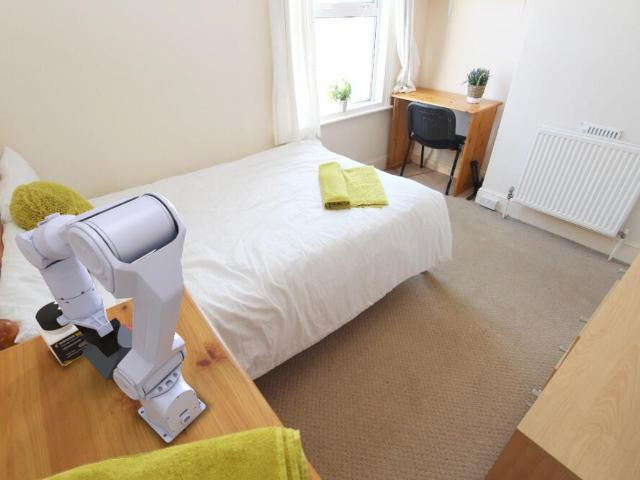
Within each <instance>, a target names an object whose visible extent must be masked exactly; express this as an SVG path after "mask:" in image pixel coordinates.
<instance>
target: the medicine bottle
mask: <svg viewBox="0 0 640 480" xmlns="http://www.w3.org/2000/svg"><path fill="white" fill-rule="evenodd" d="M60 310H61V309H60V307H59V305H58V303H57V302H56V300H53V301H51V302H49V303H46V304H45V305H43V306H42V307H41V308H39V309H38V311H37V312H36V313H35V320H36V322H37V323H38V325H39V326H38V327H37V328H36V331H37V332H38V333H39V335H40V337H41V338H42V340H43V341H44V343H45V344H46V346H47V347H48V349H49V350H50V352H51V353H52V354H53V356H54V357H55V358H56V360H57V361H58V362H59V364H61V366H62V367H67V366H68V365H70V364H72V363H73V362H75V361H77V360H78V359H80V358H82V357H83V356H84V355H83V352H84V350H85V348H86V346H87V344H88V342H86V341H85V340H84V339H83V338H82V337H81V335H83V334H82V333H81V332H80V331H79V330H78V329H77V327H76V326H75V325H74V324H72V323H68V324H66V325H64V326H61V325H60V324H59V323H58V321H57V318H58V317H60V315H59V314H58V312H59V311H60Z"/></svg>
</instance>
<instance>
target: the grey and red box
mask: <svg viewBox="0 0 640 480" xmlns="http://www.w3.org/2000/svg"><path fill="white" fill-rule="evenodd" d="M131 349H132V327H131V326H130V325H129V324H121V326H120V328H119V331H118V351H117V352H115V353H114V354H112V355H111V356H109V357H106V356H105V355H104V354H103V353H102V352H101V351H100V350H99V349H98V348H97V347H96V346H95V345H92V344H89V343H88V344H87V346H86V348H85V350H84V352H83V356H84V358H86V360H87V361H88V362H89V363H90V364H91V365H92V367H94V369H96V371H97V372H98V373H99V374H100V375H101V376H102V378H103V379H104V380H105V381H115V380H114V378H113V374H114V370H115V369H116V368H117V366H118V364H119V363H120V362H121V361H122V359H123V358H124V357H125V356H126V355H127V354H128V353H129V351H130V350H131Z"/></svg>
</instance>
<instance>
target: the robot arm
mask: <svg viewBox="0 0 640 480" xmlns="http://www.w3.org/2000/svg"><path fill="white" fill-rule="evenodd" d="M186 234H187V228H186V227H185V224H184V221H183V220H182V218H181V217H180V215H179V213H178V211H177V209H176V207H175V206H174V205H173V204H172V202H170V200H168V198H166V197H165V196H163V195H162V194H159V193H158V192H155V191H147V192H145V193H143V194H142V195H141V196H140V195H132V196H128V197H124V198H121V199H118V200H115V201H111V202H108V203H104V204H102V205H99V206H97V207H94V208H91V209H89V210H87V211H85V212H82V213H79V214H77V215H74V214H62V215H61V214H60V212H54V213H52V214H49V215H47V216H45V217H44V220H42V221H38V223H36V227H35V228H33V229H30V230H27V231H25V232H23V233H17V234H16V235H15V237H14V241H15V244H16V245H17V247H18V250H19V251H20V253H21V254H22V256H23V257H24V258H25V259H26V261H27V262H29V263H30V264H31V265H32V266H33V267H34V268H36V269H37V270H38V272H39V274H40V275H41V277H42V279H43V281H44V282H45V284H46V286H47V288H48V289H49V291H50V293H51V295H52V297H53V298H54V301H56V302H57V303H58V305H59V307H60V309H61V310H60V311H59V312H58V314H59V315H60V317H58V318H57V321H58V323H59V324H60V325H61V326H64V325H66V324H68V323H72V324H74V325H75V326H76V327H77V329H78V330H79V331H80V332H81V333H82V334H83V335H81V337H82V338H83V339H84V340H85V341H86V342H88V343H89V344H92V345H95V346H96V347H97V348H98V349H99V350H100V351H101V352H102V353H103V354H104V355H105V356H106V357H109V356H111V355H112V354H114V353H115V352H117V351H118V331H119V328H120V326H121V325H122V324H121V321H120V319H118V318H117V317H114V318H112V319H111V320H109V319H108V315H107V310H106V305H105V302H104V300H103V298H102V297H101V296H100V295H99V292H98V290H97V288H96V286H95V284H94V281H93V279H92V277H91V275H90V274H92V276H93V277H94V278H95V279H96V281H98V283H99V284H100V285H101V286H102V287H103V288H104V289H105V291H107V292H108V293H110V294H111V295H112V297H113V298H114V299H116V300H120V299H121V300H122V299H132V325H131V326H132V327H131V328H132V349H131V350H130V351H129V353H128V354H127V355H126V356H125V357H124V358H123V359H122V361H121V362H120V363H119V364H118V366H117V368H116V369H115V370H114V374H113V378H114V380H113V381H114V382H115V383H116V385H117V387H118V388H119V389H120V390H121V391H122V392H123V393H124V394H125V395H126V396H127V397H128V398H130V399H132V400H133V401H139V402H140V403H141V405H142V406H141V407H140V408H139V409H138V410H137V413H138V415H139V416H140V417H141V418H142V419H143V420H144V421H145V422H146V423H147V424H148V425H149V426H150V427H151V428H152V430H154V431H155V432H156V433H157V434H158V435H159V436H160V437H161V439H162V440H163V441H164V442H165V443H166V444H169V443H172V441H173V440H174V439H176V437H178V435H180V434H181V433H182V432H183V431H184V430H185V429H186V428H187V427H188V426H189V425H190V424H191V423H192V422H193V421H194V420H195V419H197V417H198V416H200V415H201V414H202V412H204V411H205V410H206V408H207V406H206V404H205V403H204V402H203V401H202V400H200V399H199V398H198V395H197V392H196V391H195V390H194V389H193V388H192V387H191V385H189V384H188V383H187V382H186V380H185V379H184V377H183V373H182V369H184V365H183V362H184V361H185V360H187V355H188V354H187V349H186V347H185V345H186V341H185V340H184V339H183V338H182V337H181V336H180V335H179V334H178V333H177V332H176V331H177V327H178V322H179V317H180V311H181V307H182V301H183V295H184V292H185V283H184V276H183V268H182V260H181V259H182V257H183V253H184V252H183V251H184V246H185V241H186ZM89 272H90V273H89Z"/></svg>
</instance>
